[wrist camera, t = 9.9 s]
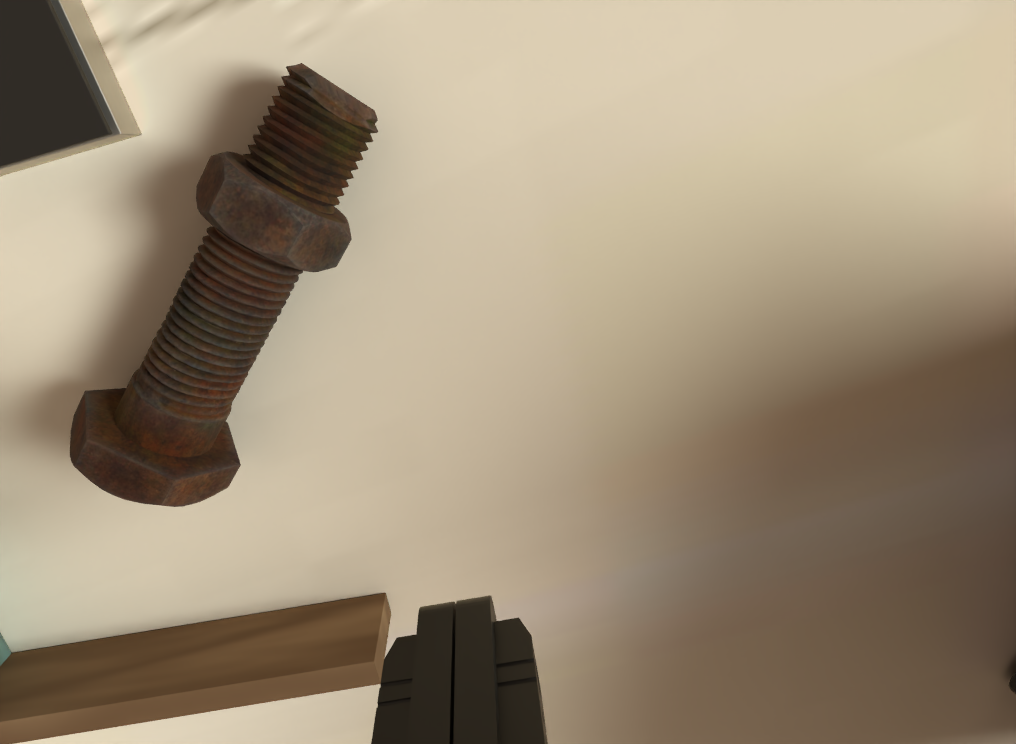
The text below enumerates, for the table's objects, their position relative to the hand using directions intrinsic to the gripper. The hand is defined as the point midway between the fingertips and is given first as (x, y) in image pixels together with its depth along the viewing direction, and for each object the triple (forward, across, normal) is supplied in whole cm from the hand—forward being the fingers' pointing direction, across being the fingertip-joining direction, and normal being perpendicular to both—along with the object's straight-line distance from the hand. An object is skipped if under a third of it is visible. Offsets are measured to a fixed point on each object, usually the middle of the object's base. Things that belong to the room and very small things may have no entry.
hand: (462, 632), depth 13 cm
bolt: (+14, +7, -6) cm, 16 cm away
